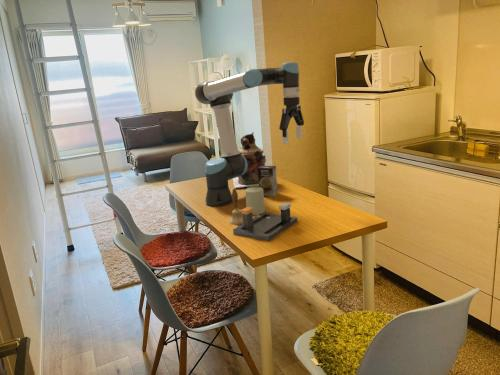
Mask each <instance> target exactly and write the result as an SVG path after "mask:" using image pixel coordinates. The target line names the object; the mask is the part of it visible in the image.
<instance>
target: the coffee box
mask: <svg viewBox="0 0 500 375" xmlns="http://www.w3.org/2000/svg"><path fill="white" fill-rule="evenodd" d="M277 181H278V180H277V165H265V166H260V167H258V182H259V186H258V187H261V188H263V195H264V197H265V196H267V197H274V196H276V195H277V194H278V182H277Z"/></svg>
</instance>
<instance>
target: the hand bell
mask: <svg viewBox="0 0 500 375" xmlns="http://www.w3.org/2000/svg"><path fill="white" fill-rule="evenodd" d="M236 189H237V188H236ZM236 189H235V188H232V193H231V195H232V198H233V205H234V206H233V207H234V209H233V210H232V212H231V218H230V219H229V221H228V223H229V224H230V225H238V226H239V225H242V224H243V215H242V214H241V210H242V209H239V205H238V204H239V203H238V200H239V198H238V197H239V195H238V191H237V190H236Z"/></svg>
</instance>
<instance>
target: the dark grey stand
mask: <svg viewBox="0 0 500 375" xmlns="http://www.w3.org/2000/svg"><path fill="white" fill-rule="evenodd" d="M291 204H292V203H290V202H283V203H281V204H279V205H278V209H279V210H280V214H278V213H272V212H266V211H265V212H263V213H261V214H257V215H256V216H254V217H253V226H252V227H250V228H248V229H244V226H243V224H239V225H238V226H237V227H235V228H233V229H232V231H233V234H234V235H238V236H242V237H248V238H252V239H257V240H263V241H266V242H270V241H271V240H272V239H274V238H276V237H277V236H279V235H280V234H281V233H283V232H284V231H286V230H287V229H289V228H291V226H293V225H295V224H296V223H297V222H298V217H296V216H291V209H290V208H291V207H292V205H291Z"/></svg>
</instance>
